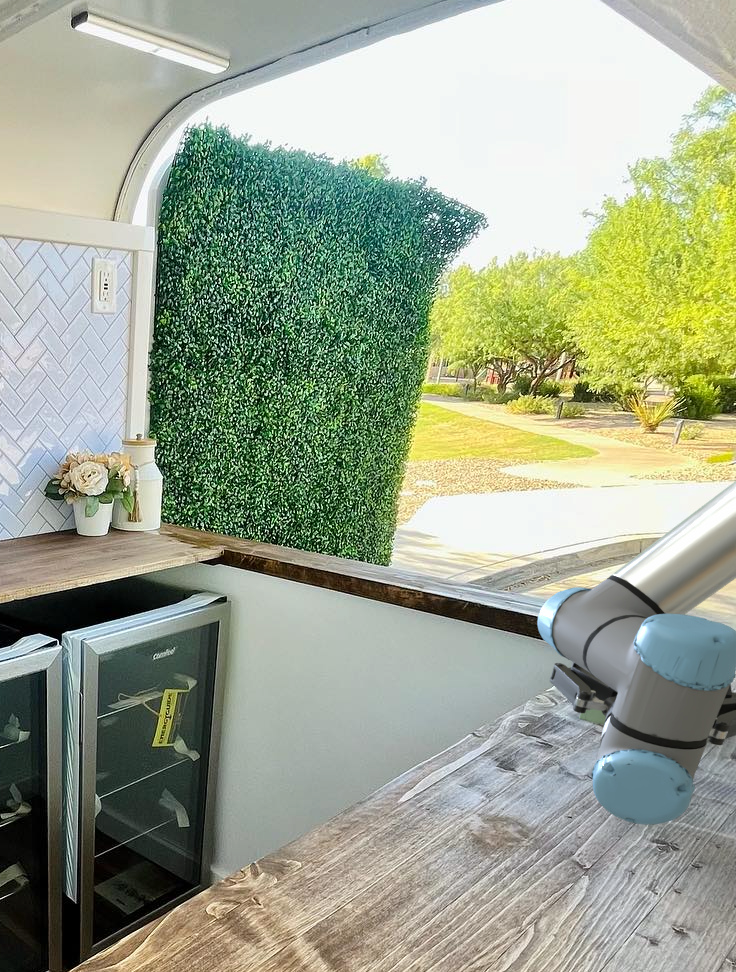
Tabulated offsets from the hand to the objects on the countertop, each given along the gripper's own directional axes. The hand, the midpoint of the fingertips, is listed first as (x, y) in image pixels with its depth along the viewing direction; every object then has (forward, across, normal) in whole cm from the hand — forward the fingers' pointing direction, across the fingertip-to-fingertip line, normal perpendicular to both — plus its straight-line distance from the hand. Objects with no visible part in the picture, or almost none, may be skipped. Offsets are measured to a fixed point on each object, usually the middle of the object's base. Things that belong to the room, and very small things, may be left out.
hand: (652, 672), depth 98 cm
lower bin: (+11, 0, -11) cm, 15 cm away
